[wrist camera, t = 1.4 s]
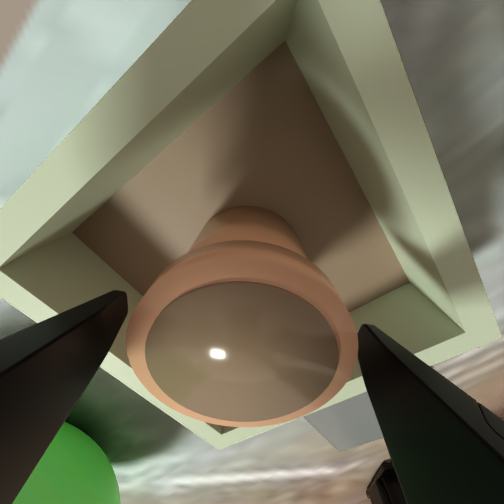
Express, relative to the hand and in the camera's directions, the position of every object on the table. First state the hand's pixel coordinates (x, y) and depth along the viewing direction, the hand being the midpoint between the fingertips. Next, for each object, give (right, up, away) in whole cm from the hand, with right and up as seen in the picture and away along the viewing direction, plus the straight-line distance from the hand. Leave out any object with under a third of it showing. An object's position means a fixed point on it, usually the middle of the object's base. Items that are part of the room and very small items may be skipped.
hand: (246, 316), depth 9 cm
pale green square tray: (0, +2, +5) cm, 5 cm away
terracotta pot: (0, +2, +4) cm, 5 cm away
